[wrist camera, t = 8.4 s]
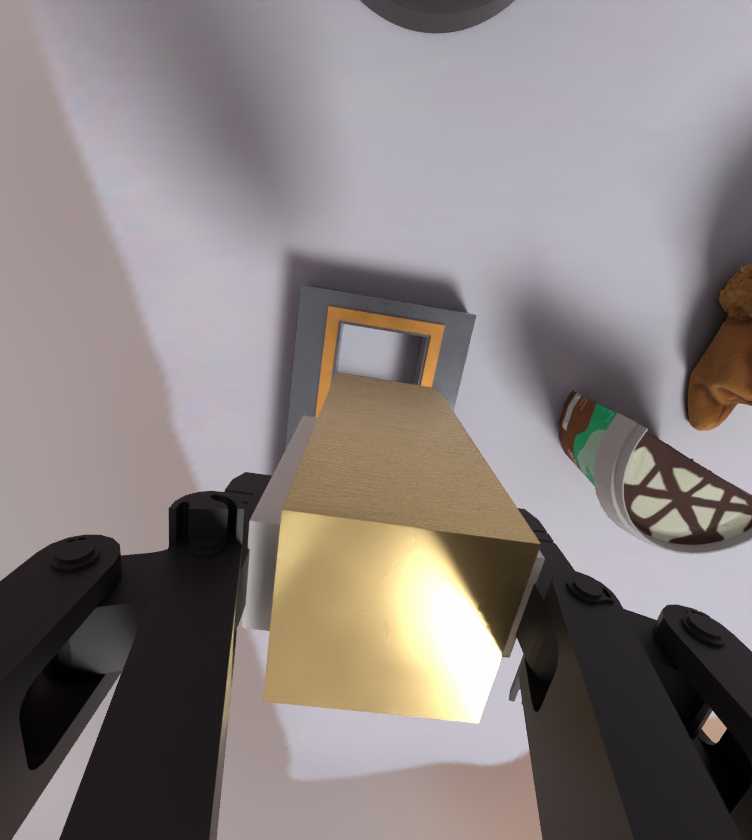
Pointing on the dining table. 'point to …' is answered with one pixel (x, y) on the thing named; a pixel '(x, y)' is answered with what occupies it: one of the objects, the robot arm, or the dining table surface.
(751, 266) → the stuffed squirrel
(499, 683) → the dining table surface
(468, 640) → the brass post
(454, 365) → the grey slotted tray
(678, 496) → the food container
